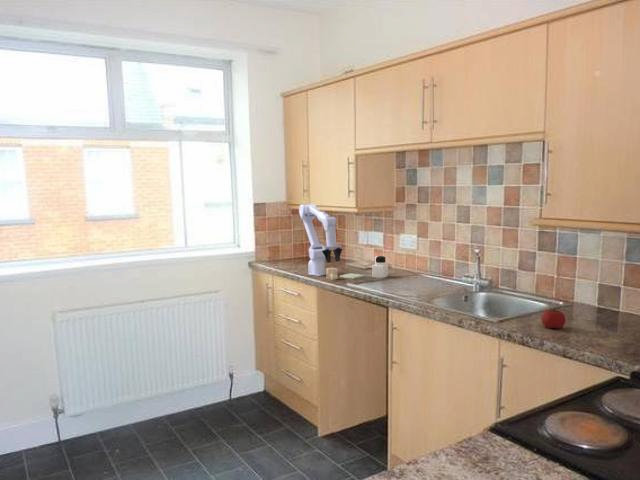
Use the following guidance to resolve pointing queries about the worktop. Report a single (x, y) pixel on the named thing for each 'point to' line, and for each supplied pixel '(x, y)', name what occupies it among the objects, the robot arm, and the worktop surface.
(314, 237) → the robot arm
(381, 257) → the medicine bottle
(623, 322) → the worktop surface
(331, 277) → the beech block
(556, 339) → the worktop surface
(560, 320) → the tomato
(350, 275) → the tile
